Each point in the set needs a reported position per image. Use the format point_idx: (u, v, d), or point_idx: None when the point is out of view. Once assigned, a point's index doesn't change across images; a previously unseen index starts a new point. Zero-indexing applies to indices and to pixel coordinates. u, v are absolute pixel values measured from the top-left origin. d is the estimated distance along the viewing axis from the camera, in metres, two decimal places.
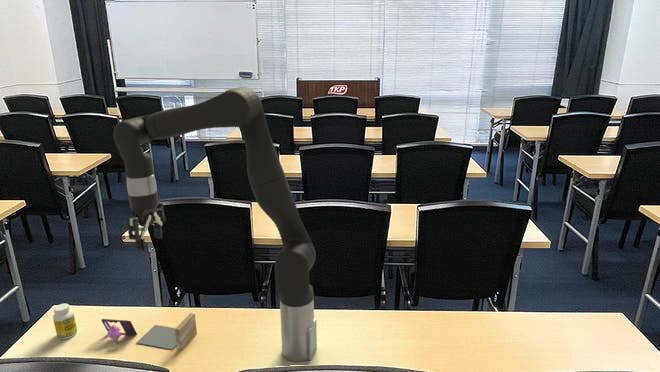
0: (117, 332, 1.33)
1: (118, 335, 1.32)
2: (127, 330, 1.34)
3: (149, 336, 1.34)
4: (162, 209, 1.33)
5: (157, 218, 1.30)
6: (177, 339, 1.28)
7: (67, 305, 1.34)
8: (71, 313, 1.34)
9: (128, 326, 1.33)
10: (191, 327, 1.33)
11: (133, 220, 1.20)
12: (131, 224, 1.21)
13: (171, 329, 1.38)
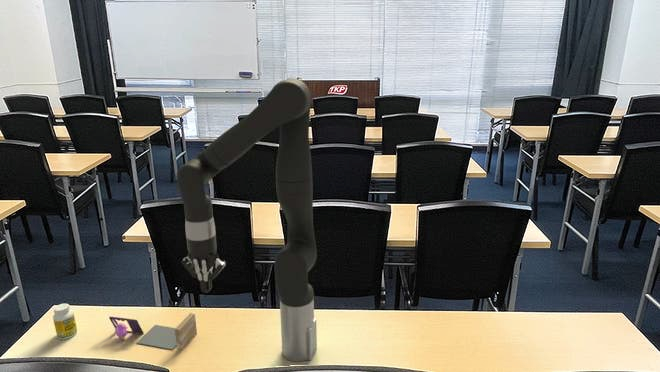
0: (124, 330, 1.33)
1: (125, 333, 1.33)
2: (134, 329, 1.35)
3: (149, 336, 1.34)
4: None
5: None
6: (177, 339, 1.28)
7: (67, 305, 1.34)
8: (71, 313, 1.34)
9: (135, 325, 1.34)
10: (191, 327, 1.33)
11: (224, 264, 1.21)
12: (222, 268, 1.21)
13: (171, 329, 1.38)
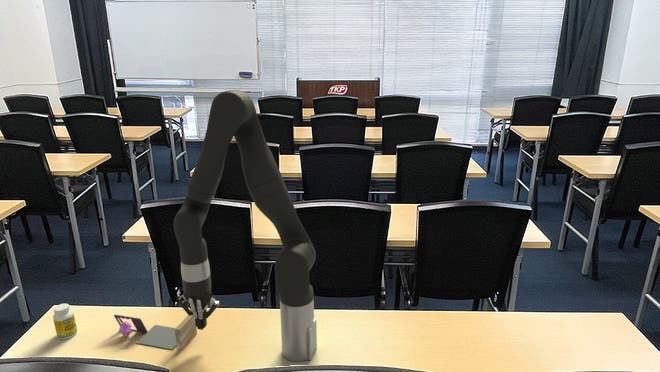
0: (128, 329, 1.34)
1: (129, 332, 1.34)
2: (138, 327, 1.36)
3: (149, 336, 1.34)
4: None
5: None
6: (177, 339, 1.28)
7: (67, 305, 1.34)
8: (71, 313, 1.34)
9: (139, 324, 1.34)
10: (191, 327, 1.33)
11: (219, 303, 1.26)
12: (216, 307, 1.26)
13: (171, 329, 1.38)
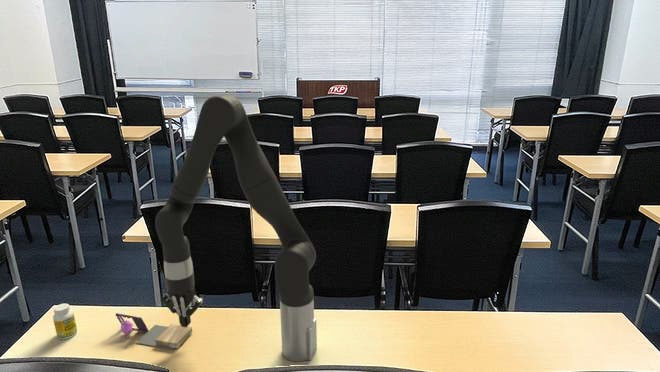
0: (129, 327, 1.35)
1: (130, 331, 1.34)
2: (139, 326, 1.36)
3: (149, 336, 1.34)
4: None
5: None
6: (166, 344, 1.30)
7: (67, 305, 1.34)
8: (71, 313, 1.34)
9: (140, 323, 1.35)
10: (175, 329, 1.34)
11: (202, 300, 1.27)
12: (200, 304, 1.27)
13: None
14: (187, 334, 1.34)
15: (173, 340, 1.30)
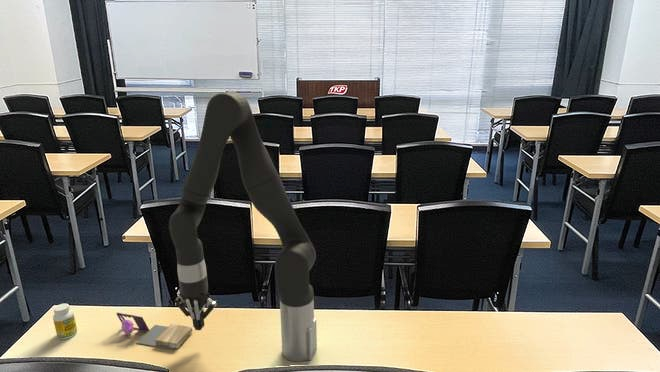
0: (130, 327, 1.35)
1: (131, 330, 1.35)
2: (140, 326, 1.37)
3: (149, 336, 1.34)
4: None
5: None
6: (166, 344, 1.30)
7: (67, 305, 1.34)
8: (71, 313, 1.34)
9: (140, 322, 1.35)
10: (175, 329, 1.34)
11: (216, 303, 1.26)
12: (213, 307, 1.26)
13: None
14: (187, 334, 1.34)
15: (173, 340, 1.30)
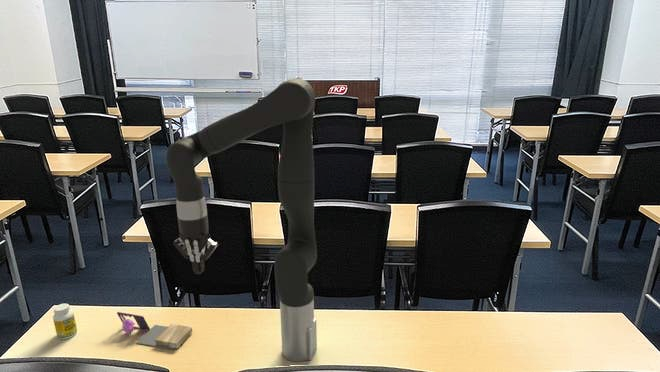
0: (131, 326, 1.35)
1: (131, 329, 1.35)
2: (141, 325, 1.37)
3: (149, 336, 1.34)
4: None
5: None
6: (166, 344, 1.30)
7: (67, 305, 1.34)
8: (71, 313, 1.34)
9: (141, 321, 1.35)
10: (175, 329, 1.34)
11: (216, 244, 1.21)
12: (214, 249, 1.21)
13: None
14: (187, 334, 1.34)
15: (173, 340, 1.30)
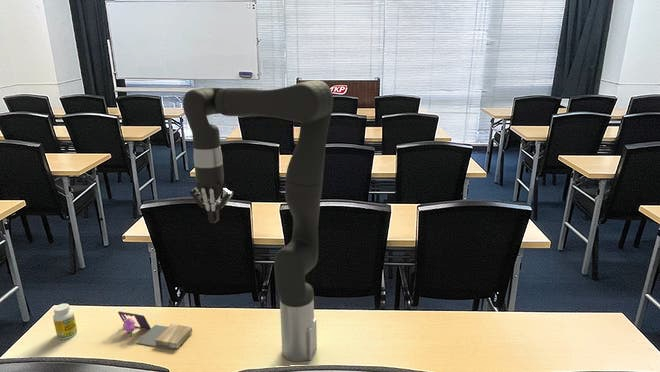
0: (132, 325, 1.36)
1: (132, 328, 1.35)
2: (141, 324, 1.37)
3: (149, 336, 1.34)
4: None
5: None
6: (166, 344, 1.30)
7: (67, 305, 1.34)
8: (71, 313, 1.34)
9: (142, 320, 1.36)
10: (175, 329, 1.34)
11: (231, 193, 1.25)
12: (229, 197, 1.25)
13: None
14: (187, 334, 1.34)
15: (173, 340, 1.30)
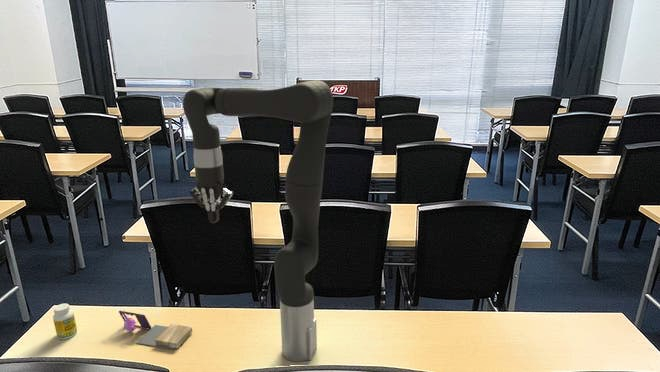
0: (132, 325, 1.36)
1: (133, 328, 1.36)
2: (142, 323, 1.37)
3: (149, 336, 1.34)
4: None
5: None
6: (166, 344, 1.30)
7: (67, 305, 1.34)
8: (71, 313, 1.34)
9: (143, 320, 1.36)
10: (175, 329, 1.34)
11: (231, 193, 1.25)
12: (229, 197, 1.25)
13: None
14: (187, 334, 1.34)
15: (173, 340, 1.30)
